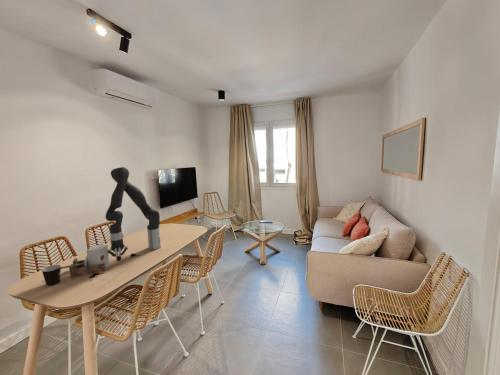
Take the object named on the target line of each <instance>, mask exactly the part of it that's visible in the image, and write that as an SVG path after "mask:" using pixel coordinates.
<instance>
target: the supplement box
mask: <svg viewBox="0 0 500 375" xmlns="http://www.w3.org/2000/svg"><path fill="white" fill-rule="evenodd" d="M108 250H109V248H108V245H107V244H106V245H105V244H96V245H94V246H91V247H90V248H88V249H86V256H87V260H88V266H93V265H98V264H103V263H104V264H105V268H107V267H108V266H110V259H109V258H110V257H109V253H108Z"/></svg>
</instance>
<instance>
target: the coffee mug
mask: <svg viewBox="0 0 500 375" xmlns="http://www.w3.org/2000/svg"><path fill="white" fill-rule="evenodd" d="M61 267H62V265H61V264H51V265H49V266H46V267H44V268H42V269H41V272H42V276H43V279H44V282H45V285H46V287H53V286H56V285H58V284H60V282H61V275H62V274H61V272H62V271H61V270H62V269H61Z"/></svg>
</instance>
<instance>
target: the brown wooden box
mask: <svg viewBox="0 0 500 375" xmlns="http://www.w3.org/2000/svg"><path fill="white" fill-rule="evenodd" d="M84 261H85V259H82V260H78V258H76V257H75V258H73V260H72V264H70V265H71V266H70V265H69V266H70V267H69V269H68V270H69V276H70V279H74V278H78V277H82V276H83V277H84V276H88V275H92V274H97V273H103V272H106V267H105V264H104V263H103V264H98V265H93V266H88V267H85V266H84V265H79V266H74V265H75V264H80V263H84Z"/></svg>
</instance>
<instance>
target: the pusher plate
mask: <svg viewBox="0 0 500 375" xmlns="http://www.w3.org/2000/svg"><path fill="white" fill-rule="evenodd" d="M84 260H85V261H84V263H80V264H75V265H74V266H79V265H84V266H85V267H88V260H87V255H86V257H85V259H84ZM70 266H71V264H70V265H65V266H61V270H63V269H68V268H70Z"/></svg>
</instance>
